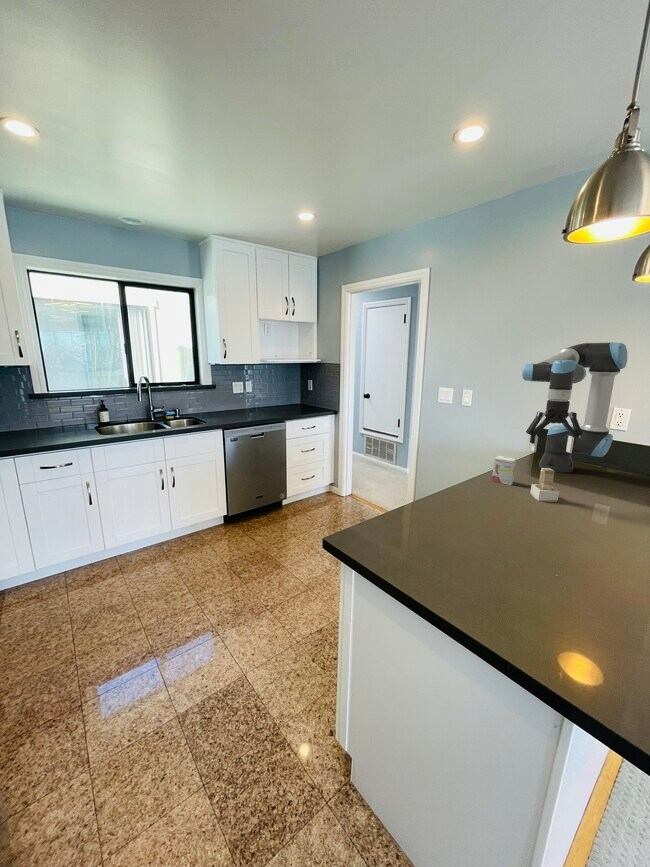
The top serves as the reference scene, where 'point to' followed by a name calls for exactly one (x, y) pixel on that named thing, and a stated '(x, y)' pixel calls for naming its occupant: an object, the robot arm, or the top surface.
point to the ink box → (504, 470)
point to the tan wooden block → (546, 479)
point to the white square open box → (544, 494)
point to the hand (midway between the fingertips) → (550, 451)
